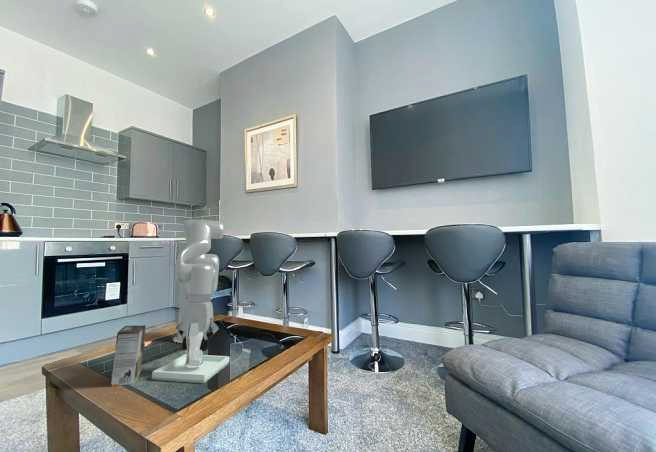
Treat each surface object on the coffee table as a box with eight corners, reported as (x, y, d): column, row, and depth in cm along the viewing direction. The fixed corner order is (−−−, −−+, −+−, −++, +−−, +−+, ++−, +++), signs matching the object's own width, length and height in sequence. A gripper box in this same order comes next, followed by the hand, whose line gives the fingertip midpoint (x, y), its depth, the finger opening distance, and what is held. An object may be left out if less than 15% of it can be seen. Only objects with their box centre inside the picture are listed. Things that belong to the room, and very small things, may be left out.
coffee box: (118, 375, 92) (124, 325, 94) (141, 373, 95) (146, 324, 97) (109, 387, 84) (116, 332, 86) (134, 383, 86) (140, 330, 88)
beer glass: (196, 369, 94) (200, 323, 96) (178, 367, 95) (182, 322, 97) (208, 362, 101) (212, 319, 102) (192, 360, 102) (195, 318, 104)
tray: (185, 360, 107) (185, 353, 108) (229, 363, 105) (229, 356, 106) (151, 379, 89) (152, 371, 90) (204, 383, 88) (204, 375, 88)
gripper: (170, 299, 98) (165, 351, 96) (217, 301, 96) (213, 354, 94) (183, 296, 105) (179, 345, 103) (226, 298, 104) (223, 347, 101)
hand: (195, 349), depth 99 cm, fingers closed on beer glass, 6 cm apart
